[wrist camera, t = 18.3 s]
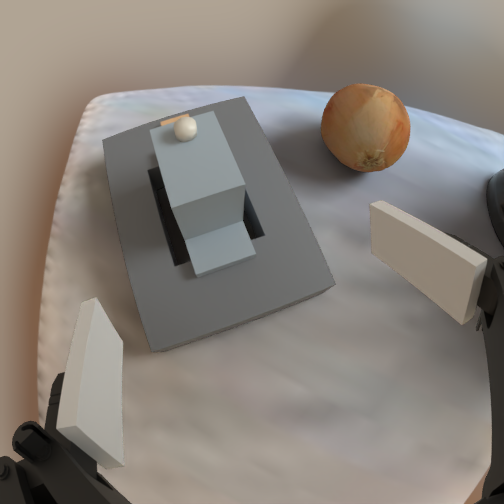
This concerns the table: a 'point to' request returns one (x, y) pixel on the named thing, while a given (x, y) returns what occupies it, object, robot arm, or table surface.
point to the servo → (204, 191)
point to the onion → (365, 127)
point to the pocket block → (183, 276)
